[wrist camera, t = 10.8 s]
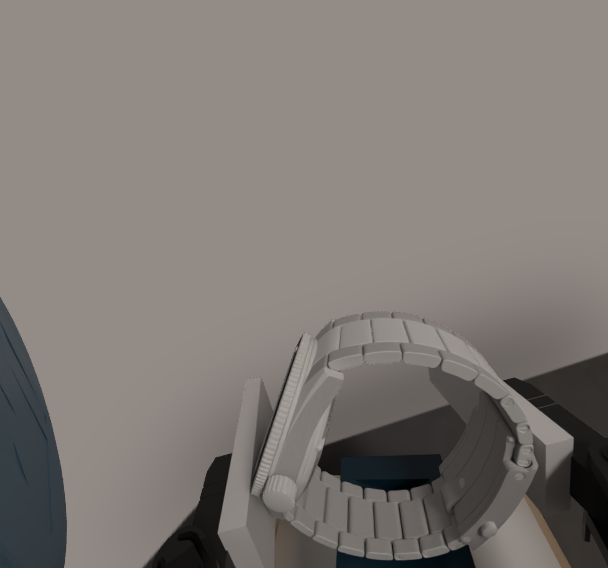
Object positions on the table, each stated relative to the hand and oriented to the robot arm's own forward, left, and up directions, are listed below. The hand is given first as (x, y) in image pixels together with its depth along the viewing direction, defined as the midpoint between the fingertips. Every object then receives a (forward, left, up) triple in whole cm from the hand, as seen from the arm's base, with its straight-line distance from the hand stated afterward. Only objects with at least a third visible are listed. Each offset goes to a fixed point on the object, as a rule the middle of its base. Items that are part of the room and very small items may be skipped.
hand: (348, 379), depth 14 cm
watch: (+1, -5, -6) cm, 8 cm away
